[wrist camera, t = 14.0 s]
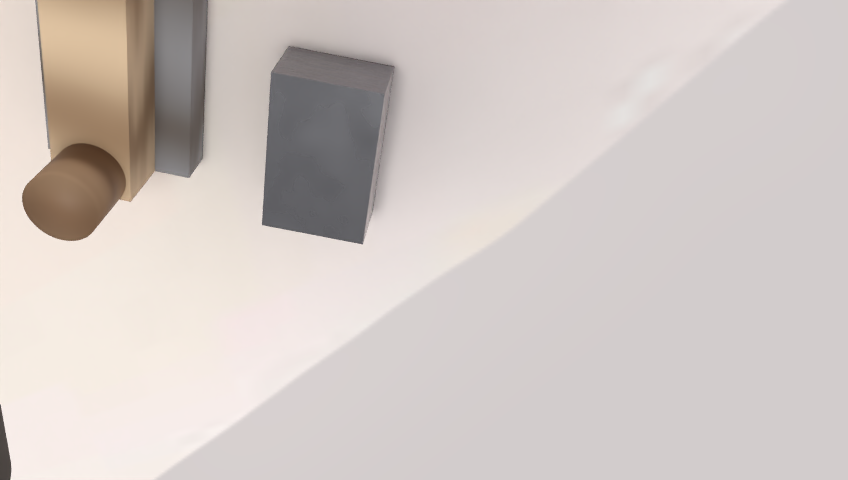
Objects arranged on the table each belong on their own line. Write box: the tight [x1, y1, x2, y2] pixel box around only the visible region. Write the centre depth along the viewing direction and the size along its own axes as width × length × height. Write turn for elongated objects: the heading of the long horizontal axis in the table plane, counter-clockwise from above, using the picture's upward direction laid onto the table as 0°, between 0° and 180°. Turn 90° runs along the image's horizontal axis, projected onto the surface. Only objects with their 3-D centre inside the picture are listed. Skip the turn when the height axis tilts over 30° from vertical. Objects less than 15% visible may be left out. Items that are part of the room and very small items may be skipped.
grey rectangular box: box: [262, 46, 394, 244], centre depth 39 cm, size 8×5×4 cm, turn 171°
